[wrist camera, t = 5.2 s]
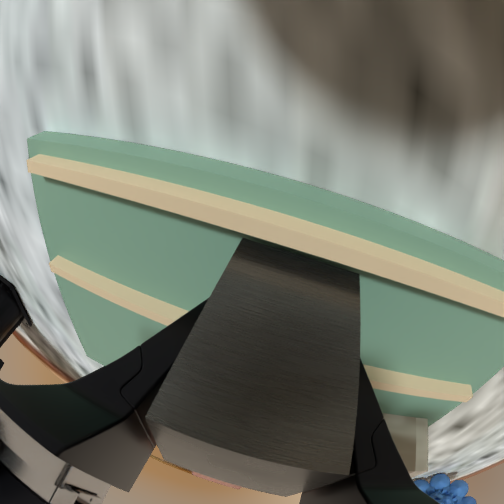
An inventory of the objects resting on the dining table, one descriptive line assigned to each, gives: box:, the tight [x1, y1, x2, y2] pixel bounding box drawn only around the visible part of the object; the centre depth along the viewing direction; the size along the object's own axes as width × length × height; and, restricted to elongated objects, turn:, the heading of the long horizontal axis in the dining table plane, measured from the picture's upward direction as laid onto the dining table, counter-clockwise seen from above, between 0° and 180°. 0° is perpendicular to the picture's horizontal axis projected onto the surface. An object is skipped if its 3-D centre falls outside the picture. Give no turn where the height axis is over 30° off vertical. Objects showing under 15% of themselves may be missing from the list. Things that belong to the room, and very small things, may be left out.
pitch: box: [27, 131, 504, 426], centre depth 14 cm, size 18×26×2 cm
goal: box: [383, 413, 428, 478], centre depth 16 cm, size 8×7×5 cm
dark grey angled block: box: [145, 238, 361, 497], centre depth 11 cm, size 14×4×6 cm, turn 170°
